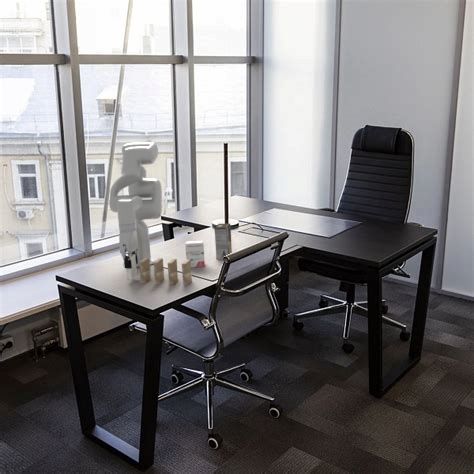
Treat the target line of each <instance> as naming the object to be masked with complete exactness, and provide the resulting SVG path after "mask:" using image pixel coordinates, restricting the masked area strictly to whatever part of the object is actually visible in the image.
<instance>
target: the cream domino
mask: <svg viewBox="0 0 474 474" xmlns="http://www.w3.org/2000/svg"><path fill="white" fill-rule="evenodd" d="M130 260H131V264H132V268H131V269H127V268H126V277H127V280H133V279H135V278H136V277H137V276H138V269H137V268H138V267H136V258H135V254H131V255H130Z"/></svg>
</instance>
